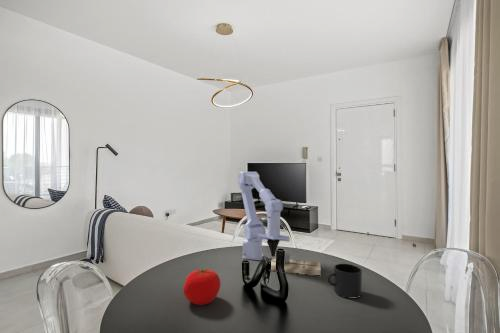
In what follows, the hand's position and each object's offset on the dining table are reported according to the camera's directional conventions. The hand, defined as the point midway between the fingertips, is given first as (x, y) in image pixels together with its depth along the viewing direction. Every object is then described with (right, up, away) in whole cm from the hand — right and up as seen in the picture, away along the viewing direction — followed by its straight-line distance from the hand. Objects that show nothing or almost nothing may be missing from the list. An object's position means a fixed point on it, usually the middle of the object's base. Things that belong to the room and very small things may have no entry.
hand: (273, 255), depth 121 cm
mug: (+24, -5, -24) cm, 34 cm away
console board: (+10, -5, -2) cm, 11 cm away
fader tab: (+6, -2, -1) cm, 6 cm away
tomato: (-27, -4, -33) cm, 42 cm away
